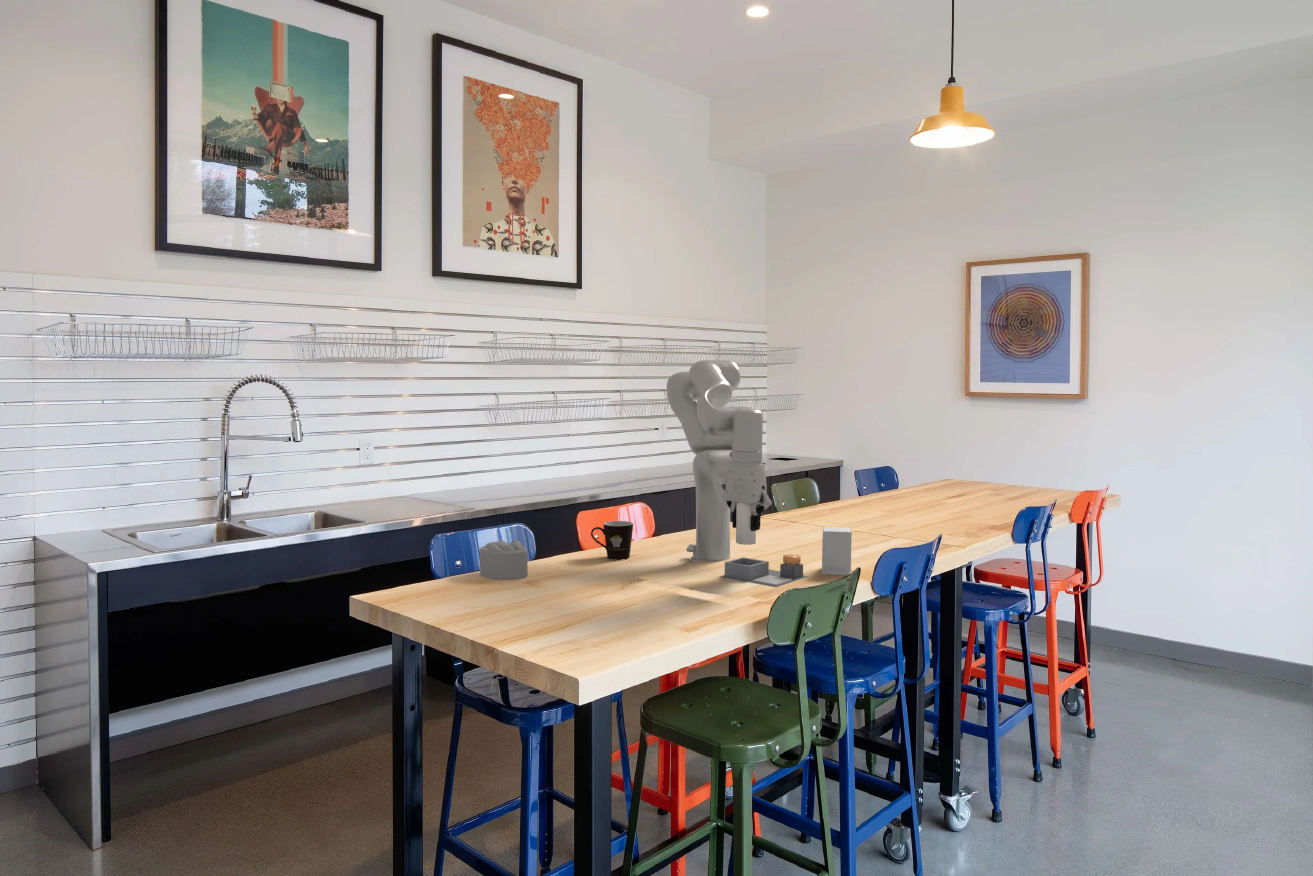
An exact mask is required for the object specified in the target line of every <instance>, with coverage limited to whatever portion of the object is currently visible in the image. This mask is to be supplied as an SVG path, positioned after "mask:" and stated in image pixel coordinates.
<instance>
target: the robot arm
mask: <svg viewBox="0 0 1313 876" xmlns="http://www.w3.org/2000/svg"><path fill="white" fill-rule="evenodd" d="M740 382H741V371H740V368H739V367H738V365H737V364H736V363H735V362H734V361H733V360H729V359H728V360H727V359H725V360H724V359H722V360H721V359H718V360H716V359H712V360H711V359H710V360H709V359H706V360H705V359H703V360H698V361H696V362H694V363H693V364H692V365H691V367H690V368H689V371H687V370H685V371H680V372H676V373H674V374H672V375H671V376H670V377H669V378H668V379H667V381H666V395H667V396H666V397H667V401H668V404H669V406H670V409H671V410H672V412H673V413H674V414H675V417H676V418H677V419H678V421H679V422H680V424H681V428H682V430H683V432H684V435H685V438H686V441H687V443H688V446H689V447H690V450H691V452H692V453H693V454H694V455H695V456H694V458H693V460H692V471H693V472H692V473H693V478H694V485H695V528H696V529H695V544H693V543H690V544H688V546H687V547H686V550H685V551H686V552H689V553H692V556H691V557H690V563H697V562H700V561H706V562H707V561H708V562H720V561H727V560H730V558H731V526H732V528H733V529H736V502H738V503H745V504H751V508H752V512H753V515H751V531H756V532H757V531H760V529H761V515H763V513H764V512H765V511H766V510H767V509H768V508H770V506H772V505H773V502H772V500H771V498H770V496H769V495H768V493H767V486H768V485H767V474H766V468H765V464H764V463H763V432H764V431H763V430H764V428H763V426H764V425H763V421H764V419H763V418H764V417H763V412H762V411H761V410H760V409H756V408H752V407H751V406H735V405H734V406H733V405H732V406H731V405H730V406H726V405H727V404H728V403H729V402H730V400H732V399H731V398H732V397H733V392H734V391H735V390H736V389H737V388H738V387H739V385H740ZM696 401H697V402H696ZM674 414H673V415H674ZM722 485H725V489H724V488H723V486H722ZM731 524H732V525H731Z"/></svg>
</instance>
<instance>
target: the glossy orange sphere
mask: <svg viewBox="0 0 1313 876" xmlns="http://www.w3.org/2000/svg"><path fill="white" fill-rule="evenodd" d="M782 563H787V565H789V566H796V565H797V564H798V563H800V564H802V562H801V555H799V554H795V553H794V554H791V553H789V554H783V556H782Z"/></svg>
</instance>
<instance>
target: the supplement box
mask: <svg viewBox="0 0 1313 876" xmlns="http://www.w3.org/2000/svg"><path fill="white" fill-rule="evenodd" d="M852 534H853V533H852V529H851V527H836V526H834V527H833V526H831V527H830V526H824V527H822V545H821V546H822V547H821V549H822V550H821V573H822V575H831V576H832V575H835V576H836V575H837V576H850V575H849V573H850V572H851V573H852V539H853V538H852Z"/></svg>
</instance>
